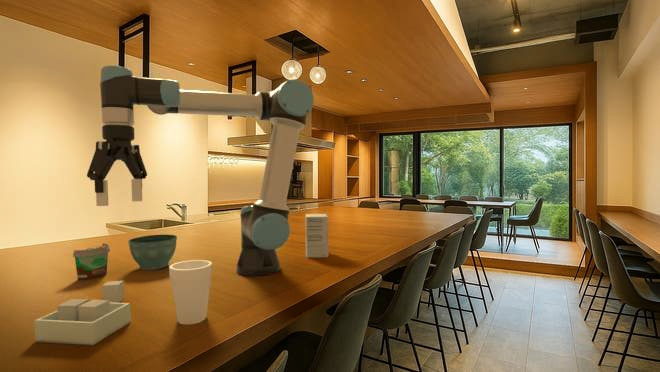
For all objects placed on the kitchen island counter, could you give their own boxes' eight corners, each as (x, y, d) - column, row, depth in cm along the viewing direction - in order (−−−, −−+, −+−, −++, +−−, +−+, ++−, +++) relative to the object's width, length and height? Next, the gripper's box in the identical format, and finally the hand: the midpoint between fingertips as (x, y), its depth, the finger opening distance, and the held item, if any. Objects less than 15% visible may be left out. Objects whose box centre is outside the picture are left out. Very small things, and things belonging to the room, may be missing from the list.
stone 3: (124, 298, 100) (123, 280, 100) (119, 302, 96) (118, 284, 96) (108, 299, 99) (107, 281, 99) (102, 304, 95) (102, 285, 95)
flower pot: (128, 275, 122) (127, 244, 121) (129, 265, 136) (129, 236, 136) (179, 269, 129) (178, 239, 129) (175, 259, 144) (175, 233, 143)
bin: (130, 322, 84) (130, 303, 83) (93, 345, 72) (92, 323, 72) (79, 319, 85) (78, 301, 85) (35, 341, 74) (34, 320, 74)
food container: (89, 282, 115) (88, 251, 114) (73, 281, 116) (72, 250, 115) (119, 271, 127) (118, 243, 126) (104, 270, 128) (103, 243, 128)
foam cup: (178, 311, 90) (177, 260, 89) (216, 310, 90) (215, 259, 90) (164, 328, 80) (163, 270, 80) (206, 326, 81) (205, 269, 80)
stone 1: (89, 325, 81) (88, 299, 81) (76, 333, 77) (75, 305, 77) (72, 325, 81) (71, 299, 81) (58, 333, 77) (57, 305, 77)
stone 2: (110, 326, 80) (109, 300, 80) (96, 334, 76) (95, 307, 76) (94, 325, 81) (93, 299, 81) (79, 333, 77) (78, 306, 77)
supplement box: (305, 252, 155) (305, 213, 154) (326, 252, 156) (326, 213, 155) (306, 258, 145) (305, 216, 144) (328, 257, 146) (328, 216, 145)
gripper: (135, 130, 110) (137, 199, 111) (67, 119, 85) (70, 208, 86) (158, 130, 109) (160, 199, 110) (95, 118, 84) (99, 208, 85)
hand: (121, 203), depth 98 cm, fingers open, 13 cm apart
